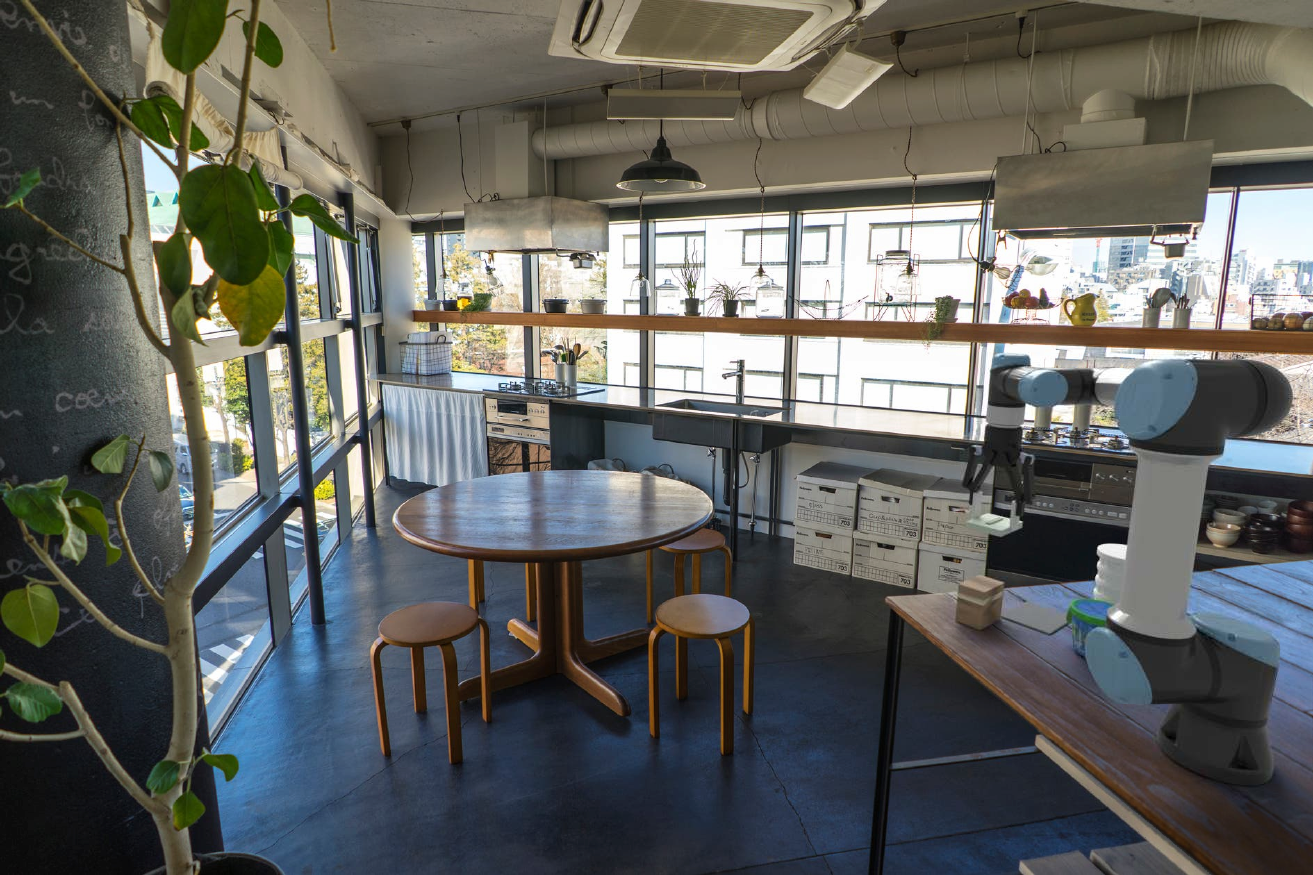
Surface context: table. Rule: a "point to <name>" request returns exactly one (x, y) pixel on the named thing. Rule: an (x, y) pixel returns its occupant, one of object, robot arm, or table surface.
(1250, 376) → the robot arm
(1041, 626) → the mat
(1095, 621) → the snack cup
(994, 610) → the walnut box
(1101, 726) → the table surface
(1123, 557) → the decorative container
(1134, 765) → the table surface
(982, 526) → the lid
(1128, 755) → the table surface
